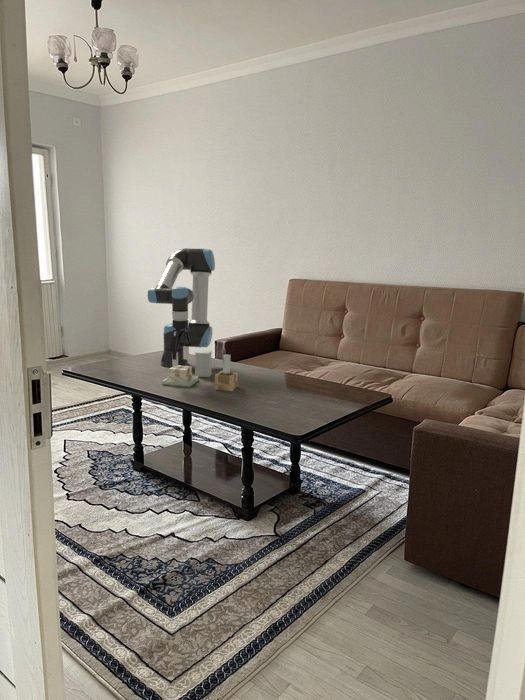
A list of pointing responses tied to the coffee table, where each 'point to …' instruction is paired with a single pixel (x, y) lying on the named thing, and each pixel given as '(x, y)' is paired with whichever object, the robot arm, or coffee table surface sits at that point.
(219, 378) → the oak block
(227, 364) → the rod
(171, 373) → the birch block
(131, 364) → the coffee table surface
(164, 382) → the tray
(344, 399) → the coffee table surface
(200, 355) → the supplement box
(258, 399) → the coffee table surface
